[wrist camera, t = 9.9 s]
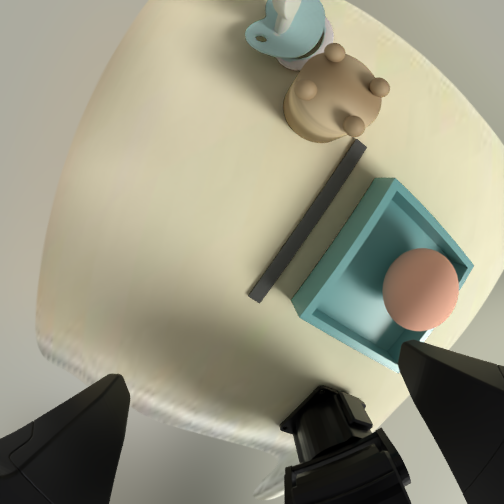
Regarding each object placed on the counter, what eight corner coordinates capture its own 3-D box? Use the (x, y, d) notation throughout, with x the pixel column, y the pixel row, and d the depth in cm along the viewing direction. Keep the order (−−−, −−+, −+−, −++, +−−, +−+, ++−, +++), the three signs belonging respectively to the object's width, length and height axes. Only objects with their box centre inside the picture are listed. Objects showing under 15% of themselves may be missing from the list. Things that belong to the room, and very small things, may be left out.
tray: (384, 355, 23) (398, 373, 21) (291, 300, 21) (299, 317, 19) (453, 256, 22) (474, 265, 19) (375, 177, 20) (395, 177, 17)
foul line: (259, 302, 21) (259, 303, 21) (248, 295, 21) (248, 296, 21) (365, 147, 19) (366, 147, 19) (355, 139, 19) (356, 138, 19)
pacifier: (342, 25, 17) (275, -7, 16) (375, -11, 11) (291, -52, 10) (309, 88, 18) (234, 54, 17) (340, 58, 12) (239, 11, 11)
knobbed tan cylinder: (327, 156, 19) (363, 147, 13) (269, 115, 18) (283, 88, 12) (361, 107, 18) (402, 85, 13) (307, 66, 18) (331, 30, 12)
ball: (423, 350, 19) (480, 316, 14) (365, 332, 18) (425, 291, 14) (418, 288, 23) (464, 250, 18) (366, 266, 22) (412, 218, 18)
